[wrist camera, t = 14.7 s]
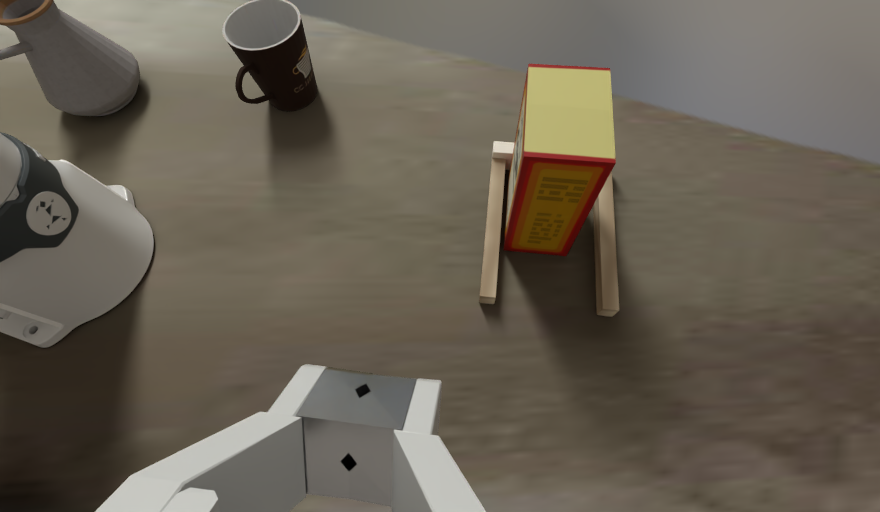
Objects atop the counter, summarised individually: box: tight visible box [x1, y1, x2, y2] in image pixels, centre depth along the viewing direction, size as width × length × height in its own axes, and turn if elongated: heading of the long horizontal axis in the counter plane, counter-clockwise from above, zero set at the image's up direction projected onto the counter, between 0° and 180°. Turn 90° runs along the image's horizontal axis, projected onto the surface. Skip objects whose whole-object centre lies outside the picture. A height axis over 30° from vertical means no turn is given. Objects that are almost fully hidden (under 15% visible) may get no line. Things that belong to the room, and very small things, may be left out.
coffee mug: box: [222, 0, 317, 111], centre depth 51 cm, size 12×9×10 cm
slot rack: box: [479, 141, 619, 317], centre depth 45 cm, size 13×18×3 cm
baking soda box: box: [504, 64, 616, 256], centre depth 40 cm, size 10×6×16 cm
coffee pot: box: [0, 0, 140, 116], centre depth 49 cm, size 21×12×15 cm, turn 165°
